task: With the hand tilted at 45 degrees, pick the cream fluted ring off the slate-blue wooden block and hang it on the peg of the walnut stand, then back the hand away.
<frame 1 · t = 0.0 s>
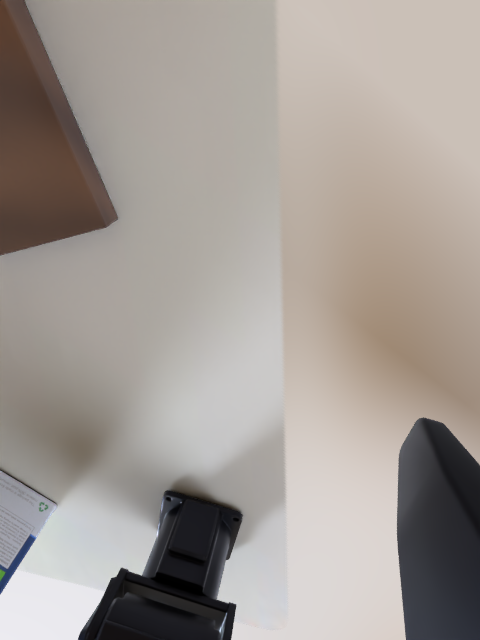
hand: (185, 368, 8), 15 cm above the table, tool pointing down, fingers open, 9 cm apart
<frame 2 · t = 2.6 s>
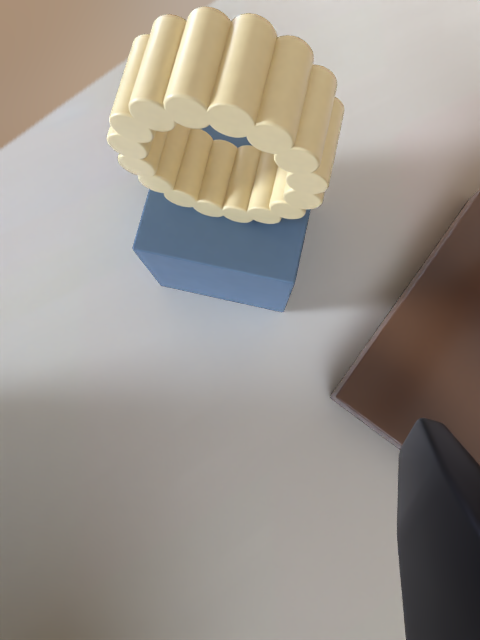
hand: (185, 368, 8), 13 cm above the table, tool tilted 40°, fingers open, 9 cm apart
cream fluted ring: (231, 190, 17), point 5 cm above the table, touching blue block
blue block: (235, 240, 23), on the table
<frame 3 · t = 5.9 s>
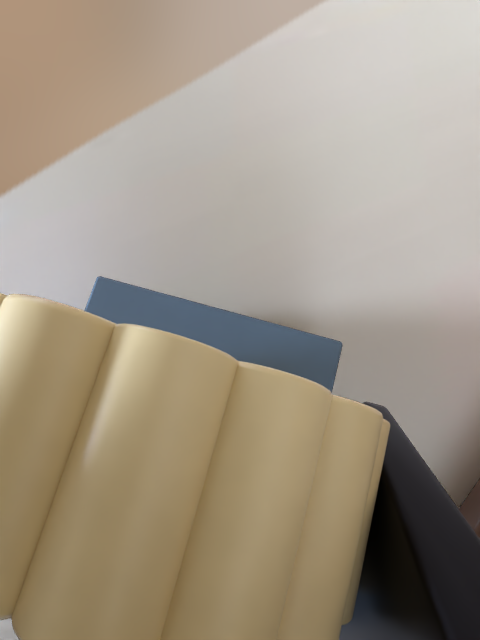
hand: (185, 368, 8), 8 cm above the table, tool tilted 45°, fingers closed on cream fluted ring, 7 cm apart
cream fluted ring: (178, 435, 10), point 6 cm above the table, touching gripper, blue block
blue block: (201, 430, 16), on the table
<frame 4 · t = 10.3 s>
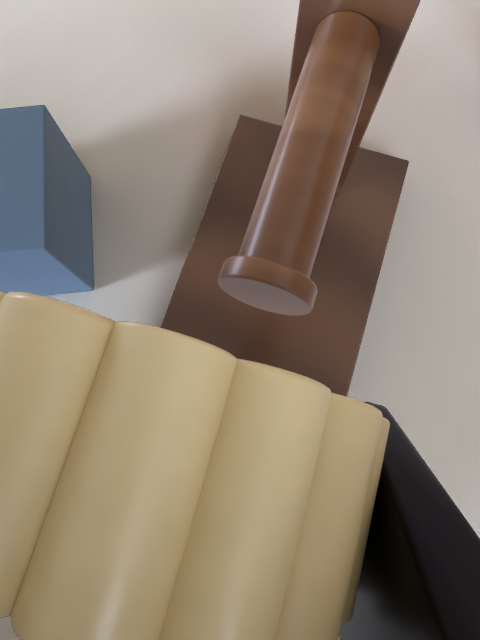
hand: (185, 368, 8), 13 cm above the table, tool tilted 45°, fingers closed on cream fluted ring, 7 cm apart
stand: (286, 252, 22), on the table
cream fluted ring: (178, 434, 10), point 10 cm above the table, touching gripper
blue block: (30, 237, 23), on the table
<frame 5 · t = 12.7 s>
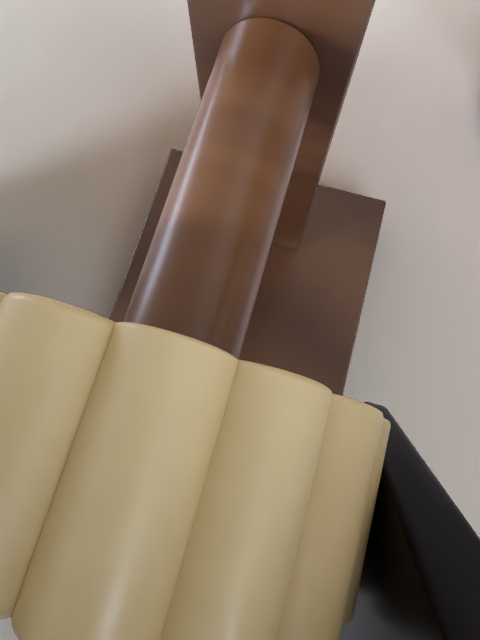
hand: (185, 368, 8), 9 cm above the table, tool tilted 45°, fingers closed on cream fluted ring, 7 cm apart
stand: (236, 321, 18), on the table
cream fluted ring: (178, 435, 10), point 7 cm above the table, touching gripper
when the fingers open (7 cm above the table, at t = 14.7 s): cream fluted ring stays where it is, resting on stand.
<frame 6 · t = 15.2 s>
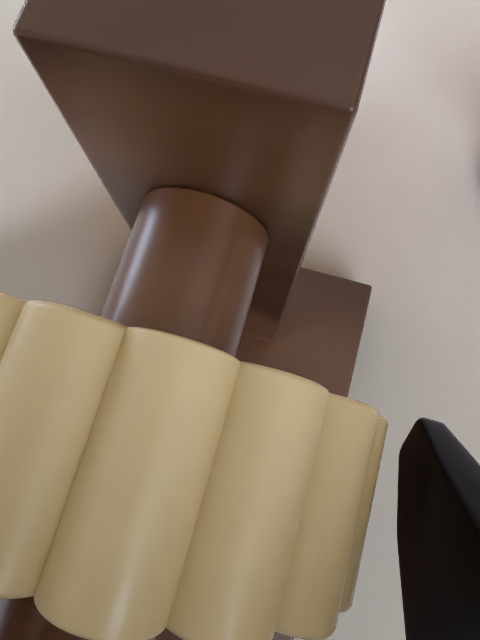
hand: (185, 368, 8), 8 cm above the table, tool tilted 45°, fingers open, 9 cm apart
stand: (206, 417, 16), on the table
cream fluted ring: (185, 433, 10), point 5 cm above the table, touching stand
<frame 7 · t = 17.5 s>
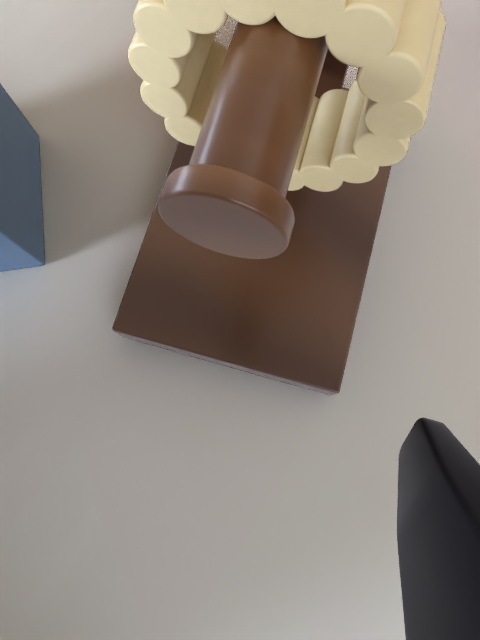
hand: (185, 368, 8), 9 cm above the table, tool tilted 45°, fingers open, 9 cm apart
stand: (268, 214, 19), on the table
cream fluted ring: (276, 151, 14), point 5 cm above the table, touching stand
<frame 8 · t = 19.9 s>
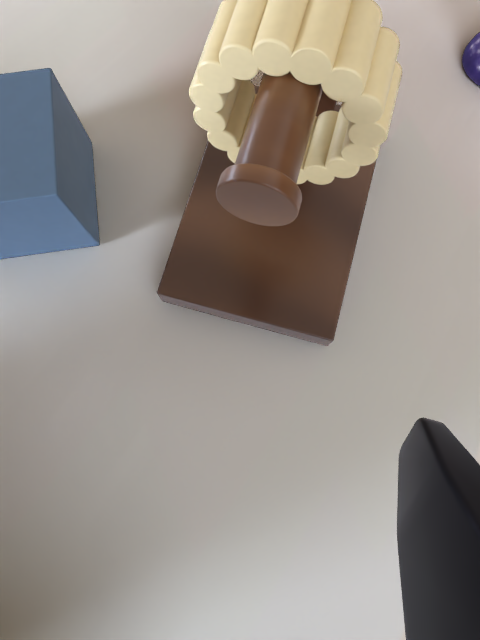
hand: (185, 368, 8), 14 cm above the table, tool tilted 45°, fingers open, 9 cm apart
stand: (277, 205, 24), on the table
cream fluted ring: (285, 155, 19), point 5 cm above the table, touching stand
blue block: (38, 200, 24), on the table
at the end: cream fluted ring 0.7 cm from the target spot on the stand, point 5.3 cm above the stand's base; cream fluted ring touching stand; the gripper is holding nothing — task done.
